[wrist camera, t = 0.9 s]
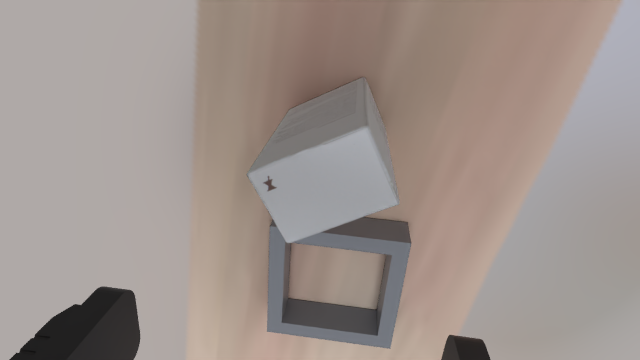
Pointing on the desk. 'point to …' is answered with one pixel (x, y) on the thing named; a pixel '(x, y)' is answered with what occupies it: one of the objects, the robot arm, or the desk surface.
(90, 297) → the robot arm
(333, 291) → the desk surface
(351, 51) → the desk surface
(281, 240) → the frame
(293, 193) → the skincare box
